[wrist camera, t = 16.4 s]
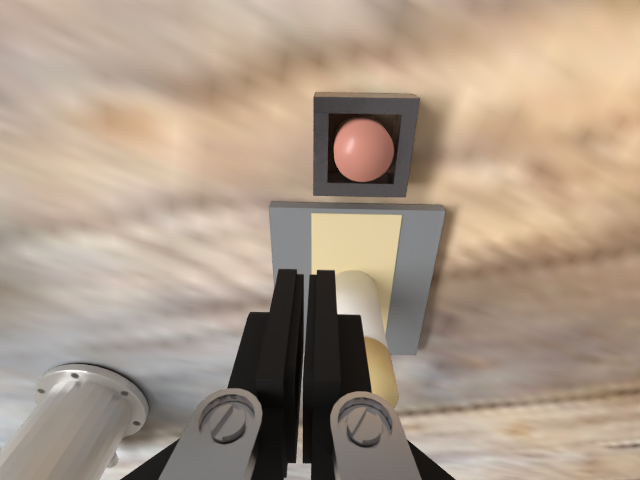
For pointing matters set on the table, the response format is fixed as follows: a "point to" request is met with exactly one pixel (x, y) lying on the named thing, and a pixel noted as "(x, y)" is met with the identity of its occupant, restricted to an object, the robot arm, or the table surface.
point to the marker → (368, 329)
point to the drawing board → (365, 254)
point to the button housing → (402, 141)
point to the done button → (362, 148)
